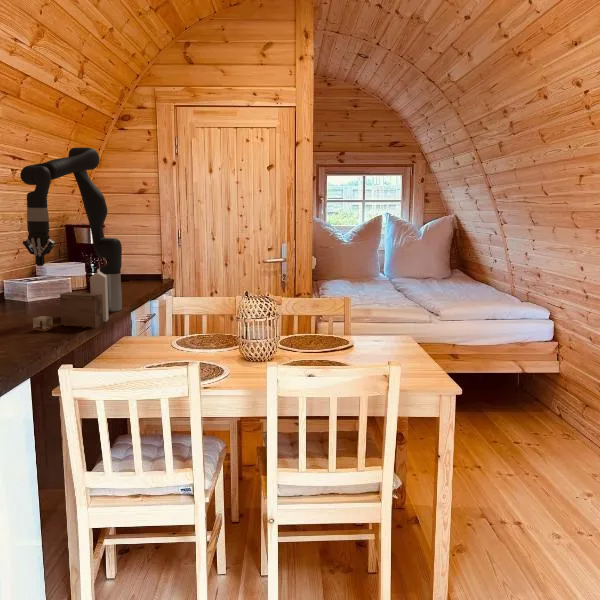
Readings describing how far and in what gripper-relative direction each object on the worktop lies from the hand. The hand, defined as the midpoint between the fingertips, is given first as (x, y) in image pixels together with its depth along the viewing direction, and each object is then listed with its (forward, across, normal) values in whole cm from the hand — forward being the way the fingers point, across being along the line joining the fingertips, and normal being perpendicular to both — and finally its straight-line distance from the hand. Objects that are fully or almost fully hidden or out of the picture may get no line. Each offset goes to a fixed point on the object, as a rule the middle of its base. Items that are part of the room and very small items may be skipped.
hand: (40, 265), depth 226 cm
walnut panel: (+25, -10, -12) cm, 29 cm away
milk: (+25, -11, -23) cm, 36 cm away
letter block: (+25, 0, 0) cm, 25 cm away
